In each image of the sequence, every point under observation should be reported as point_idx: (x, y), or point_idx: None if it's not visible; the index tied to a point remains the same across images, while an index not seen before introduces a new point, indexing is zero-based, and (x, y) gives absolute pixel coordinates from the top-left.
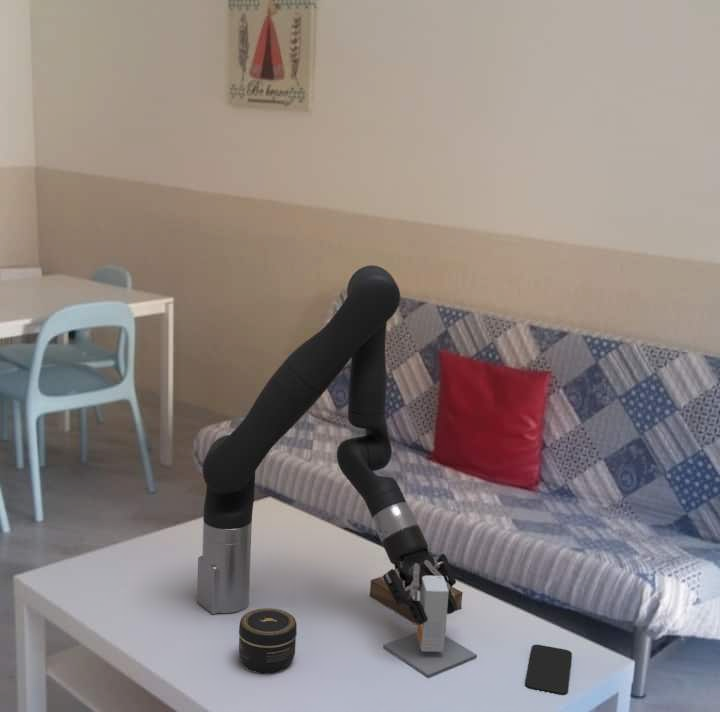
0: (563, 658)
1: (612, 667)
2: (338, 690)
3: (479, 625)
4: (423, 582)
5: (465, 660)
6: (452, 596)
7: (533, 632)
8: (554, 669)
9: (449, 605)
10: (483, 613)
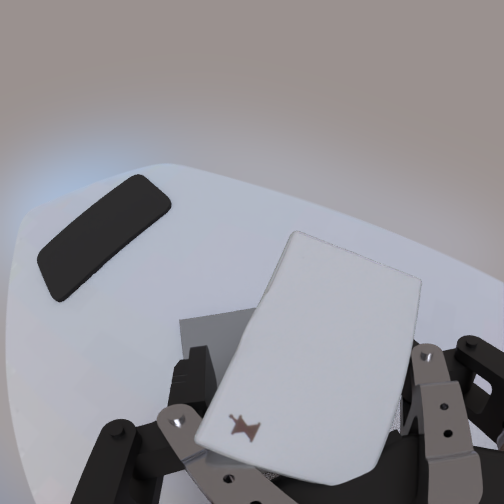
0: (59, 243)
1: (38, 210)
2: (481, 308)
3: (86, 429)
4: (400, 393)
5: (218, 315)
6: (173, 390)
7: (27, 341)
8: (95, 222)
9: (209, 372)
10: (54, 455)
